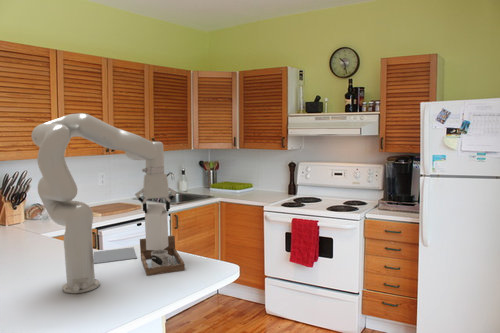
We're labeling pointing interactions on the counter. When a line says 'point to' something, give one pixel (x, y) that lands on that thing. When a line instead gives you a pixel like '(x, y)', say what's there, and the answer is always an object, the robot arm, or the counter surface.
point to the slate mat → (114, 255)
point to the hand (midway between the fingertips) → (156, 211)
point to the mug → (160, 258)
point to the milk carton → (156, 227)
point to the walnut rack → (164, 269)
